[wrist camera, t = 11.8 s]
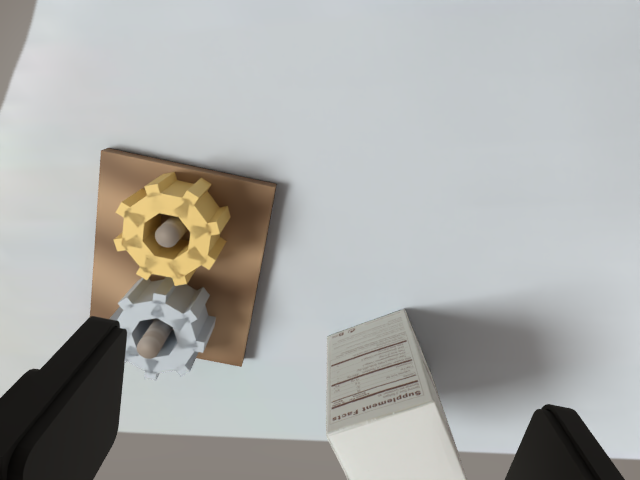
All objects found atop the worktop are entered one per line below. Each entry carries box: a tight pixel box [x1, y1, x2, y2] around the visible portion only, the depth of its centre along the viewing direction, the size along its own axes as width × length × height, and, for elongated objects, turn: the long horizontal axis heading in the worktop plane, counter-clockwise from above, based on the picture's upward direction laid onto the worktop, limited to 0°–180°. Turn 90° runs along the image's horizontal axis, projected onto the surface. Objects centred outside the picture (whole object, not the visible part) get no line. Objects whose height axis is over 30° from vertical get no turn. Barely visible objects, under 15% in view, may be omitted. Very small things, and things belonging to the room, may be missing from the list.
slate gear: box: [110, 277, 216, 380], centre depth 39 cm, size 7×7×4 cm
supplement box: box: [326, 309, 467, 480], centre depth 37 cm, size 7×7×13 cm
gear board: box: [90, 148, 277, 367], centre depth 37 cm, size 16×13×7 cm
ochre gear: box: [113, 172, 230, 286], centre depth 36 cm, size 7×7×4 cm
